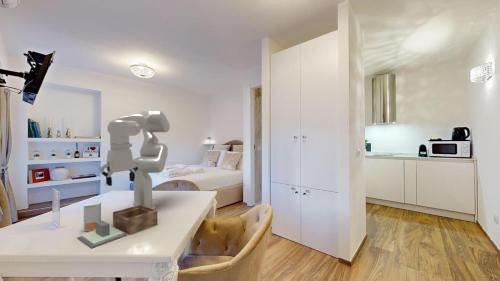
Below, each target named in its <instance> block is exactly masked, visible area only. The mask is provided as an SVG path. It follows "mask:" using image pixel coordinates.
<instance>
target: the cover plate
mask: <svg viewBox="0 0 500 281" xmlns="http://www.w3.org/2000/svg"><path fill="white" fill-rule="evenodd" d="M95 224H96V230H91V231H87V232H84V233H82V234H80V236H81V237H82V238H83V239H85V240H86V241H87V242H89V243H90V244H92V245H93V246H95V245H98V244H100V243H103V242H106V241H109V240H111V239H114V238H117V237H120V236H122V235H124V233H125V232H123V231H121V230H119V229H117V228H115V227H113V226H111V225H110V223H108V222H106V221H104V220H101V221H99V222H96V223H95Z"/></svg>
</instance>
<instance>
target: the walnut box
mask: <svg viewBox="0 0 500 281" xmlns="http://www.w3.org/2000/svg"><path fill="white" fill-rule="evenodd" d="M157 225H158V210H157V209H151V208H148V207H145V206H142V205H137V206H134V205H133V206H129V207H126V208H122V209H120V210H115V211H113V212H112V227H113V228H115V229H117V230H119V231H121V232H123V233H125V234H127V235H130V236H131V235H133V234H136V233H138V232H141V231H144V230H147V229H149V228H152V227H155V226H157Z"/></svg>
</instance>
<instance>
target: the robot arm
mask: <svg viewBox="0 0 500 281" xmlns="http://www.w3.org/2000/svg"><path fill="white" fill-rule="evenodd" d="M170 125H171V124H170V122H169V120H168V119H167V117H166V115H165V113H164V112H163V111H161V110H151V109H149V110H148V109H147V110H142V111H139V112H138V113H136V114H131V115H127V116H122V117H117V118H114V119H112V120H110V121H108V124H107V129H106V130H107V132H108V134H109V139H110V140H109V146H110V150H108V151H107V155H106V163H105V164H104V165H102V166H100V167H98V171H99V172H100V174H101V175H103V176H104V177H105V184H106V185H107V186H108V187H111V186H113V178H112V175H113V173H118V172H120V173H121V172H125V171H126V172H127V171H129V174H128V175H129V176H128V177H129V181H130V182H133V203H132V205H133V207H134V206H137V205H142V206H145V207H148V208H151V209H154V210H156V206H155V205H153V179H152V176H151V175H150V174H153V173H154V174H156V173H157V174H158V173H161V172H163V171H164V170H165V165H166V162H167V158H168V154H169V153H168V152H169V151H168V146H167V145H166V144H165V143H159V139H158V137H157V135H156V134H154V133H167V132H169V130H170V128H171V126H170ZM141 131H142V134H143V137H144V139H143V142H142V145H141V148H140V150H139V157H135V158H133V153H132V149H130V148H132V147H133V144H132V143H130V137H131V136H133V137H134V136H137V135H139V134H140V133H141ZM105 170H106V171H107V172H106V171H105Z"/></svg>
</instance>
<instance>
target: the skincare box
mask: <svg viewBox="0 0 500 281" xmlns="http://www.w3.org/2000/svg"><path fill="white" fill-rule="evenodd" d="M99 221H102V201H95V202H88V203H87V202H86V203H85V204H84V205H83V232H84V233H86V232H91V231H94V230H96V224H95V223H96V222H99Z"/></svg>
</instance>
